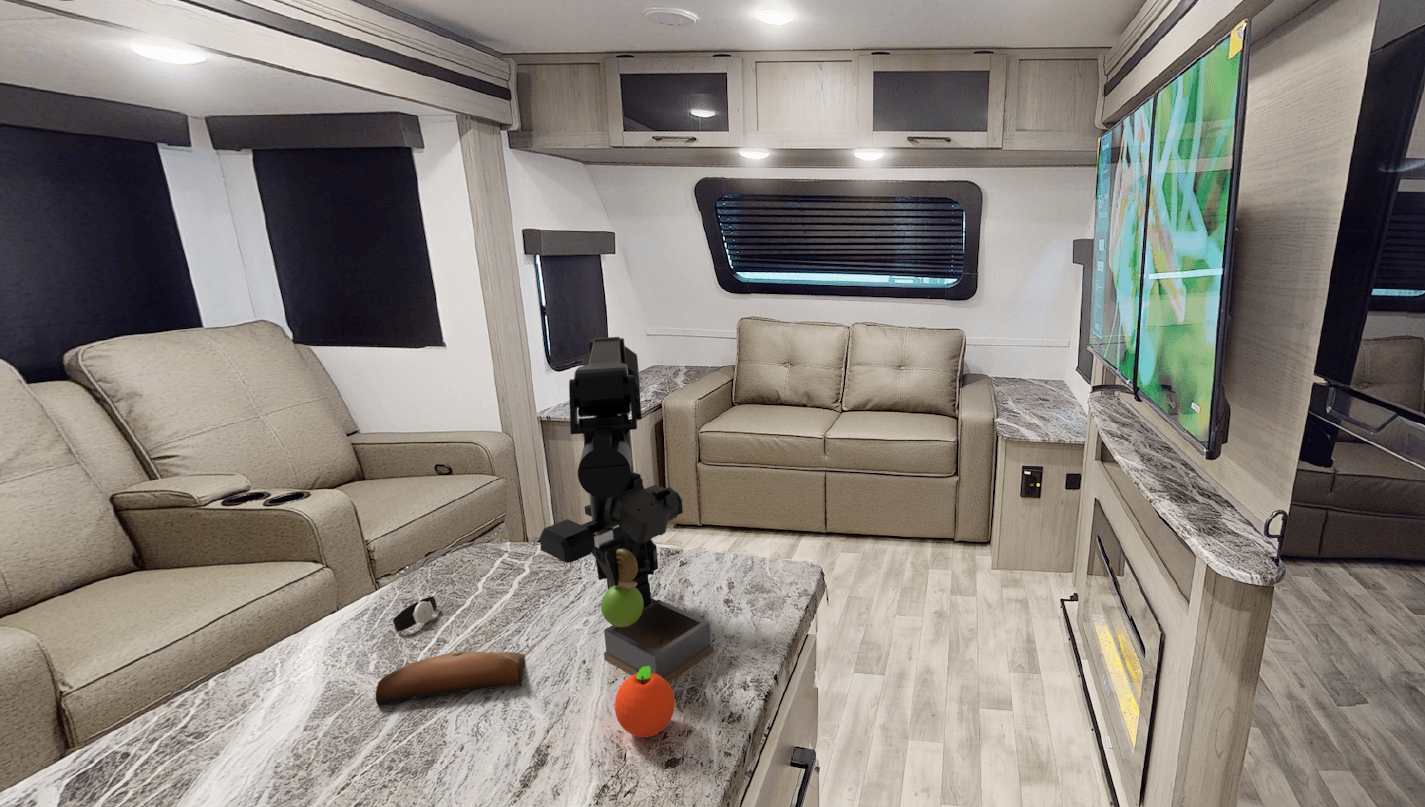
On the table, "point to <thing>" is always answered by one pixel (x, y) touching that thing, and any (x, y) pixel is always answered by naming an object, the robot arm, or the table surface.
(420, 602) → the watch
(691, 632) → the grey planter box
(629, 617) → the snail figurine
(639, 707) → the clementine
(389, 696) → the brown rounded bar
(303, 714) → the table surface
